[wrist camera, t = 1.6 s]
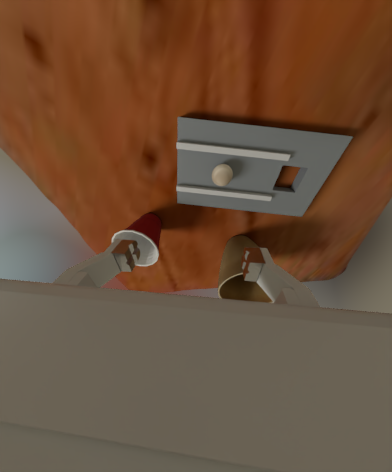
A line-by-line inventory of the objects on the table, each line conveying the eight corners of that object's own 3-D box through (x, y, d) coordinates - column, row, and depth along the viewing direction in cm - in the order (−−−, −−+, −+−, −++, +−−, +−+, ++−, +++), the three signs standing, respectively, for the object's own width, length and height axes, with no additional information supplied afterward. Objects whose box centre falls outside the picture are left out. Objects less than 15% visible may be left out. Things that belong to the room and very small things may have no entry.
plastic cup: (137, 196, 37) (114, 223, 28) (175, 216, 40) (166, 246, 31) (127, 226, 44) (105, 255, 34) (161, 241, 47) (149, 272, 37)
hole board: (179, 116, 27) (176, 117, 24) (342, 135, 27) (358, 137, 24) (178, 198, 37) (176, 205, 34) (297, 211, 37) (304, 219, 34)
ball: (213, 160, 29) (213, 165, 26) (233, 162, 29) (236, 168, 26) (210, 180, 31) (210, 188, 28) (228, 183, 31) (231, 190, 28)
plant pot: (224, 264, 52) (228, 311, 39) (208, 233, 43) (208, 280, 31) (268, 253, 47) (290, 303, 35) (260, 217, 39) (284, 264, 26)
